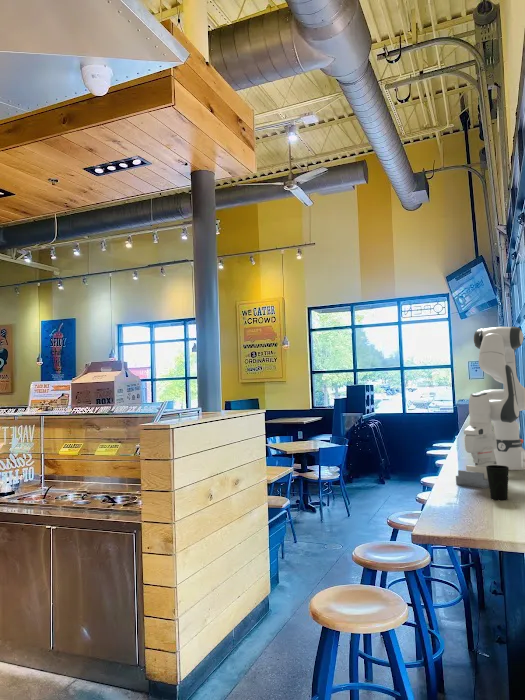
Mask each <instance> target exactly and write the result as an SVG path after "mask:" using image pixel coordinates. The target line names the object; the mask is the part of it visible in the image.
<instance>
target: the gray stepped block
mask: <svg viewBox="0 0 525 700" xmlns="http://www.w3.org/2000/svg"><path fill="white" fill-rule="evenodd" d="M457 473H458V474H457V475H455V484H456V485H458V486H465V487H474V488H480V489H489V482H488V478H487V479H485V478H484V473H479V472H471V471H466V470H462V469H458V471H457Z"/></svg>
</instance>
